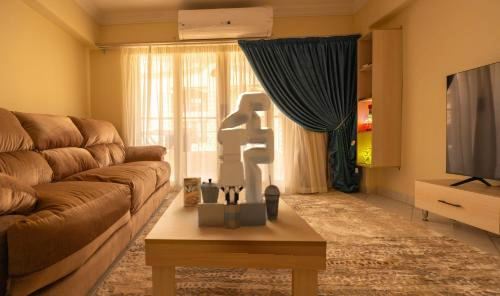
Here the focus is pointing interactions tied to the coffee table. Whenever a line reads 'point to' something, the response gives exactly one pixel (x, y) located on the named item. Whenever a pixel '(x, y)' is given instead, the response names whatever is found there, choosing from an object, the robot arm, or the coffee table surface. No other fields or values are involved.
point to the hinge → (231, 215)
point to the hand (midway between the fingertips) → (232, 201)
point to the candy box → (192, 191)
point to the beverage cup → (272, 201)
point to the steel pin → (232, 194)
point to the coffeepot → (209, 192)
